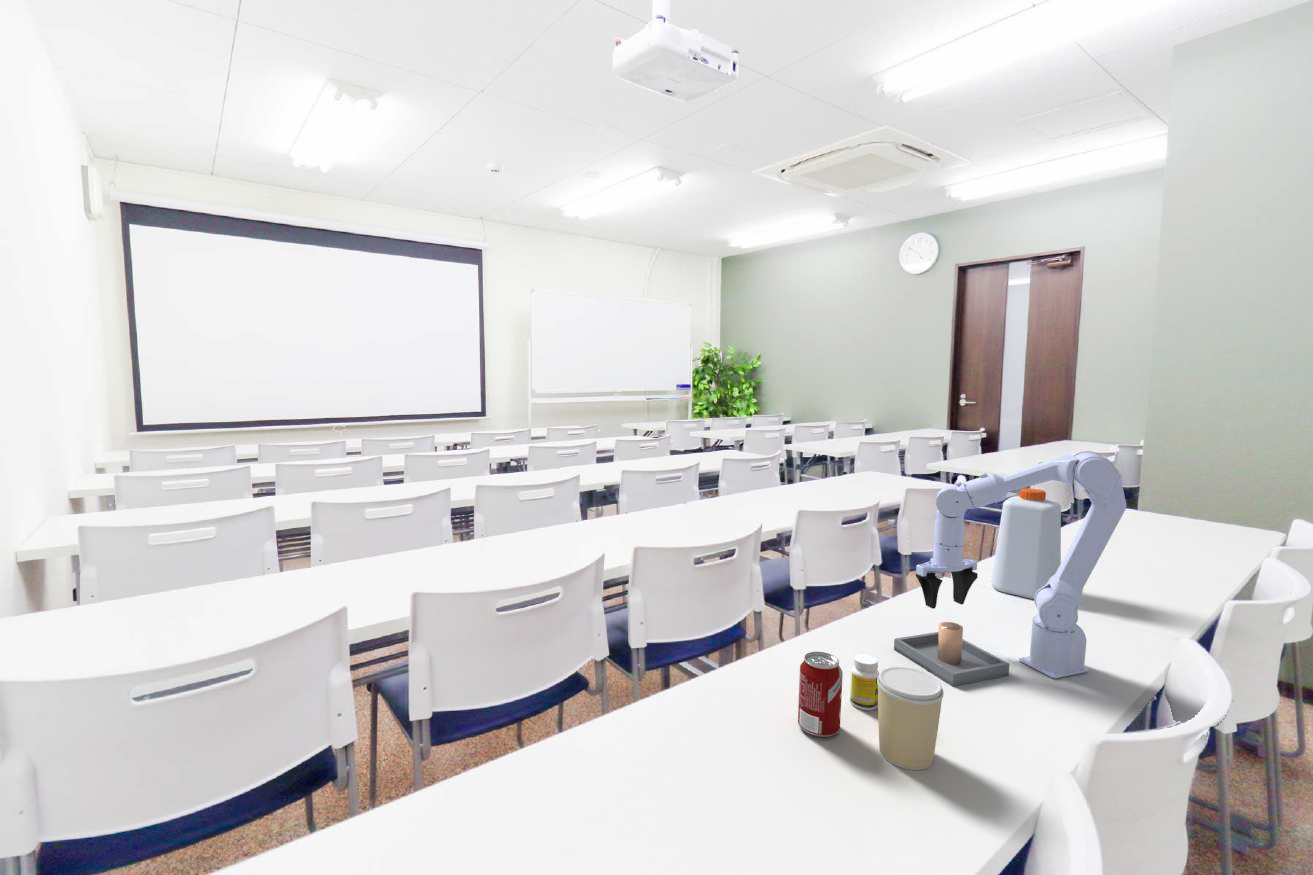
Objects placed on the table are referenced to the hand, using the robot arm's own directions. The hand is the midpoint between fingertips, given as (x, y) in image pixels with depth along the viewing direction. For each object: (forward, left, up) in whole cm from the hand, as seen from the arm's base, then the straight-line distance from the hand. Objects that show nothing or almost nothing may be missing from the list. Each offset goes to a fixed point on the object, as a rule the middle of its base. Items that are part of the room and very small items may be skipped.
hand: (944, 604), depth 129 cm
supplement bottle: (+31, +14, -10) cm, 35 cm away
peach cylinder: (+4, +6, -9) cm, 11 cm away
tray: (+4, +6, -9) cm, 12 cm away
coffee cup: (+34, +28, -10) cm, 45 cm away
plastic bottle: (-49, -21, -10) cm, 54 cm away
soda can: (+43, +18, -10) cm, 48 cm away
